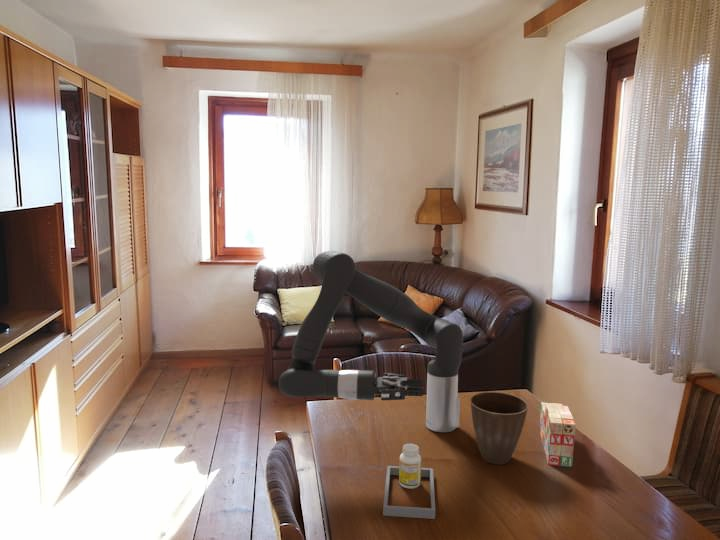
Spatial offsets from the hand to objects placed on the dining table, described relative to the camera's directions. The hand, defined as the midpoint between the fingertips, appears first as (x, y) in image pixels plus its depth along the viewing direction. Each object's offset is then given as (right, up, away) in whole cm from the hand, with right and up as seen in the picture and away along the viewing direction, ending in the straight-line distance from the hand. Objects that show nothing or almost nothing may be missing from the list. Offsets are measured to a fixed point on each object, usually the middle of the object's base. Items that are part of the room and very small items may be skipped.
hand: (422, 387), depth 142 cm
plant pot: (+21, -21, +9) cm, 31 cm away
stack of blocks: (+39, -21, +15) cm, 47 cm away
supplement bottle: (-4, -23, -4) cm, 24 cm away
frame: (-4, -24, -9) cm, 26 cm away
